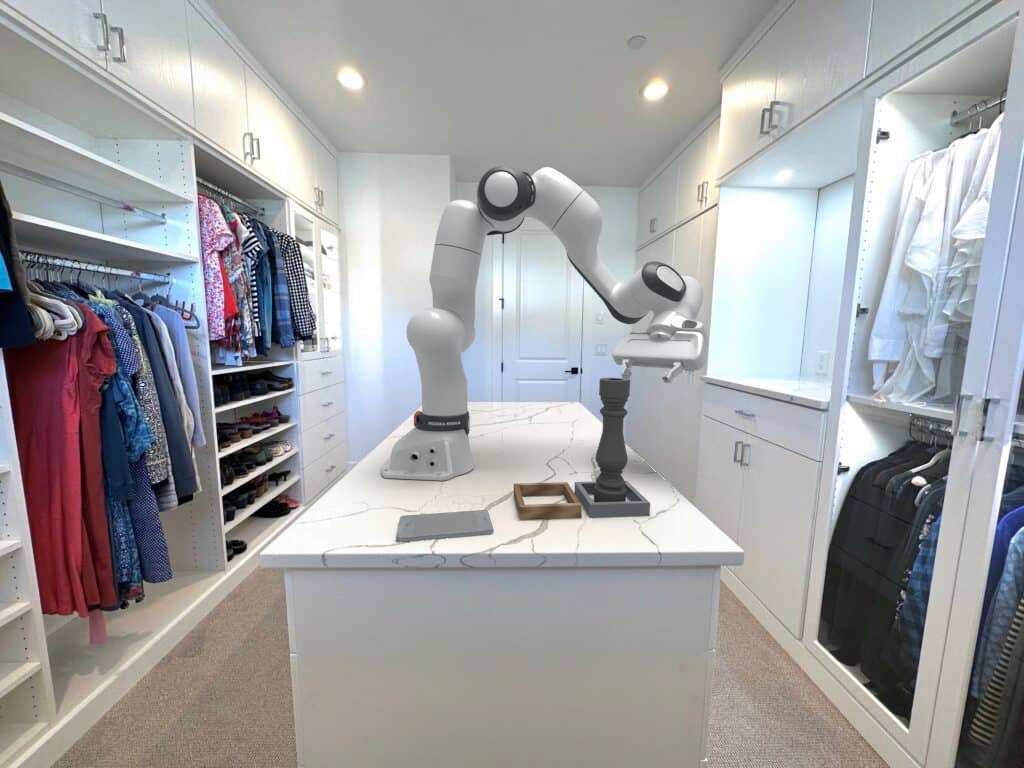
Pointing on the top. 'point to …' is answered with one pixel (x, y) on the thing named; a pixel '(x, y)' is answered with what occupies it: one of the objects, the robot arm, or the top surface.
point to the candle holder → (612, 441)
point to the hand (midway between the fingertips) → (644, 378)
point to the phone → (444, 525)
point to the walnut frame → (546, 510)
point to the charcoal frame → (612, 509)
